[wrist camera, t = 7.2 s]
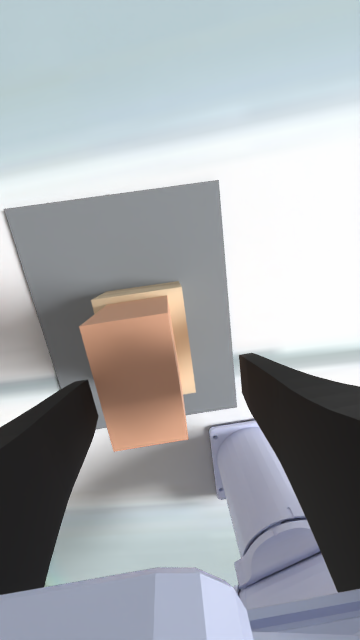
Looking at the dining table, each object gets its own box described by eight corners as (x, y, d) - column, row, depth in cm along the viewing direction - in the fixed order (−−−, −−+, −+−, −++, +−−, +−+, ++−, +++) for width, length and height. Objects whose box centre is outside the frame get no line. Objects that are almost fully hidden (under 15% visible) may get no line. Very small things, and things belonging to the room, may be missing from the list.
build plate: (235, 404, 23) (236, 407, 22) (76, 429, 22) (74, 432, 22) (217, 181, 17) (218, 180, 17) (7, 210, 17) (3, 209, 17)
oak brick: (190, 367, 21) (195, 392, 17) (125, 377, 21) (116, 404, 17) (178, 281, 19) (181, 287, 15) (106, 291, 19) (90, 300, 15)
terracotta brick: (182, 387, 17) (188, 439, 12) (128, 396, 17) (113, 451, 12) (167, 295, 15) (167, 312, 10) (107, 304, 15) (78, 326, 10)
